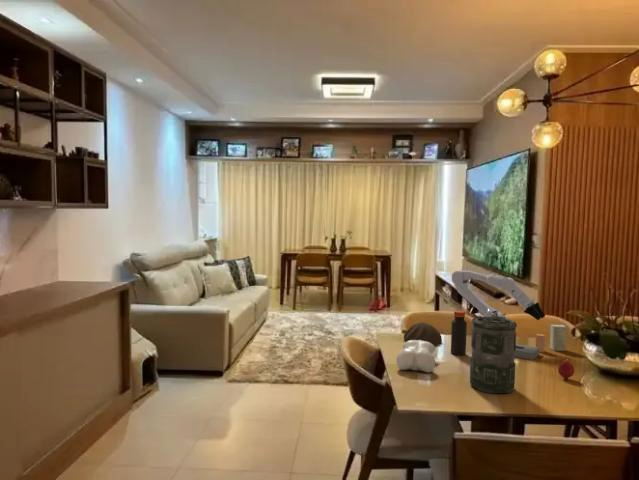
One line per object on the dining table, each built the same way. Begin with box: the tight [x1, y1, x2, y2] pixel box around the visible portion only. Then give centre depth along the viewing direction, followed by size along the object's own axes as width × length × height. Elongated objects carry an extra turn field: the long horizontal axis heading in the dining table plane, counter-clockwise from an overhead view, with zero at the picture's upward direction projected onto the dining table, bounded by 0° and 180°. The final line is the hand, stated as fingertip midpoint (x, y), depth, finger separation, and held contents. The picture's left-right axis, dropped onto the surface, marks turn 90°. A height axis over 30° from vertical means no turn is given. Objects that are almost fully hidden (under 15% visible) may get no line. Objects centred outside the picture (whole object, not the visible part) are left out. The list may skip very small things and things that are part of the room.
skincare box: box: [549, 324, 567, 352], centre depth 239 cm, size 6×4×12 cm
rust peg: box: [535, 333, 546, 353], centre depth 235 cm, size 3×3×8 cm
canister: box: [469, 312, 518, 394], centre depth 181 cm, size 16×16×28 cm
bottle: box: [450, 310, 468, 357], centre depth 227 cm, size 7×7×20 cm
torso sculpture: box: [395, 340, 436, 374], centre depth 209 cm, size 16×11×30 cm
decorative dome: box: [403, 322, 443, 347], centre depth 249 cm, size 19×20×10 cm
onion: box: [557, 359, 575, 380], centre depth 193 cm, size 6×6×8 cm
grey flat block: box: [514, 343, 540, 361], centre depth 229 cm, size 16×12×3 cm
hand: (541, 318), depth 235 cm, fingers open, 7 cm apart
